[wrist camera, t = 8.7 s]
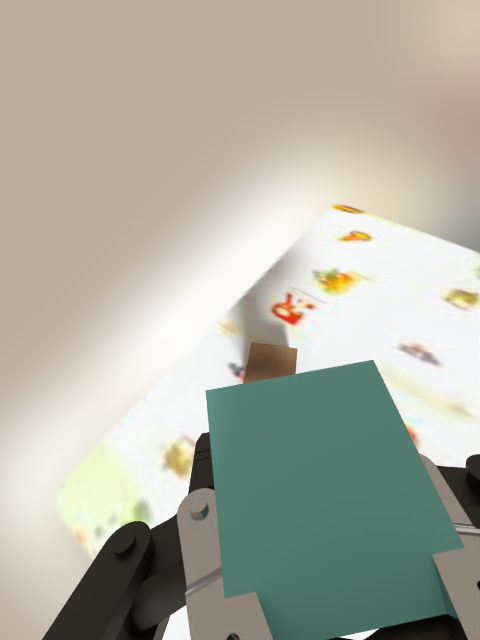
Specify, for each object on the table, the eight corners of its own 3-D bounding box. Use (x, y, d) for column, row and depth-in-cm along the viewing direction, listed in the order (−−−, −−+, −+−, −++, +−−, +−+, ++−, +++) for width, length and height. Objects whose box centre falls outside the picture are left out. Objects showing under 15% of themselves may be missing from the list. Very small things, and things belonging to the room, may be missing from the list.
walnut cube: (253, 359, 32) (251, 342, 28) (292, 365, 31) (297, 348, 27) (246, 398, 29) (243, 386, 25) (288, 406, 29) (293, 394, 24)
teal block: (236, 438, 15) (205, 390, 6) (309, 424, 15) (373, 359, 7) (250, 534, 13) (229, 659, 4) (337, 517, 13) (492, 604, 4)
